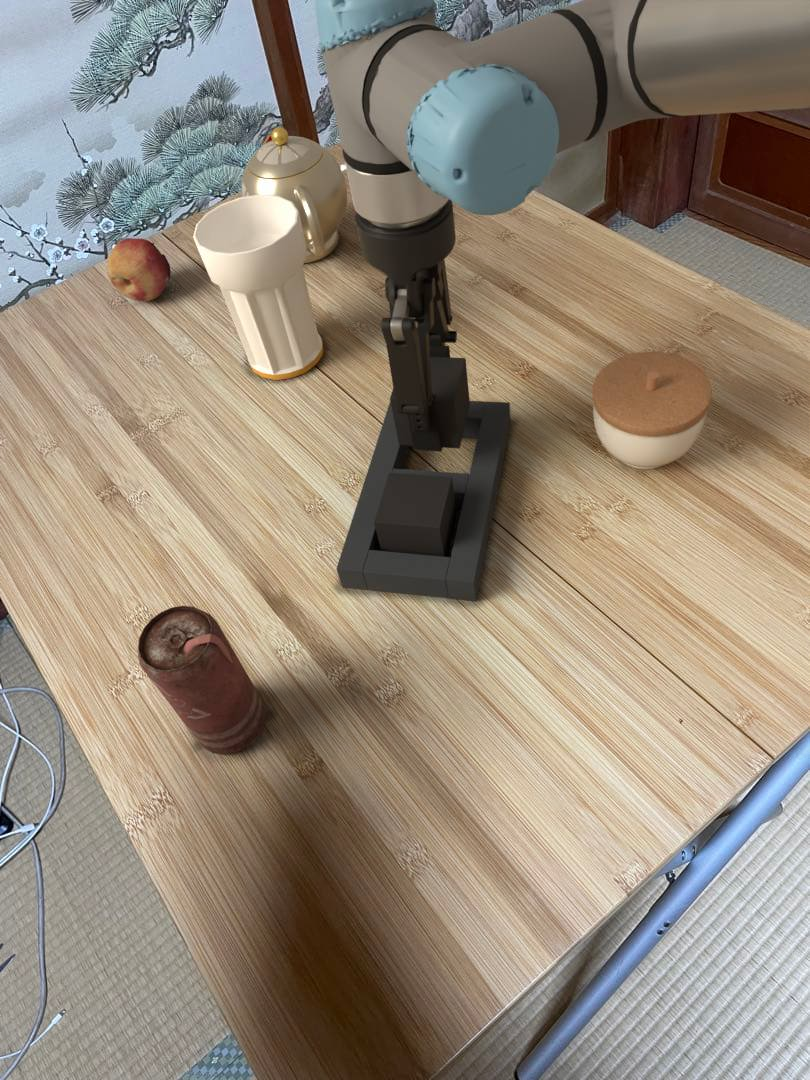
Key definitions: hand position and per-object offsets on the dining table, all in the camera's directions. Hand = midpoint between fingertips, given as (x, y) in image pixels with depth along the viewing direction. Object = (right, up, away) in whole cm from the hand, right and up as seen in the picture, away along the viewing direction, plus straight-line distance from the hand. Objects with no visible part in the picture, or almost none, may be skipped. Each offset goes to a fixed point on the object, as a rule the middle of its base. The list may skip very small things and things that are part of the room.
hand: (434, 422), depth 81 cm
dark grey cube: (-1, -11, -1) cm, 12 cm away
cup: (-17, +11, +19) cm, 28 cm away
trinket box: (+21, -2, +2) cm, 21 cm away
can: (-17, -27, -11) cm, 34 cm away
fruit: (-37, +21, +31) cm, 53 cm away
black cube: (0, 0, 0) cm, 0 cm away
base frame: (0, -8, +1) cm, 8 cm away
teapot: (-16, +27, +32) cm, 45 cm away
